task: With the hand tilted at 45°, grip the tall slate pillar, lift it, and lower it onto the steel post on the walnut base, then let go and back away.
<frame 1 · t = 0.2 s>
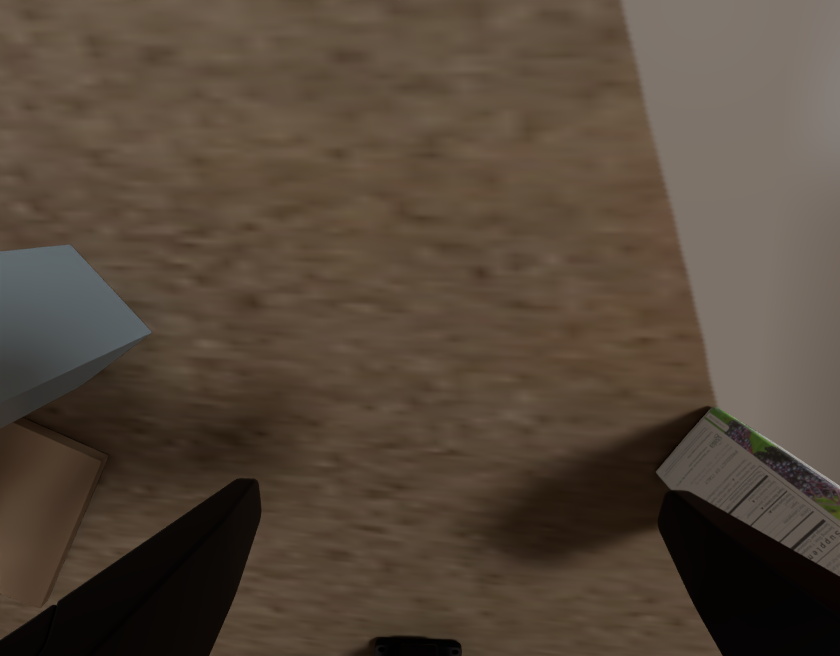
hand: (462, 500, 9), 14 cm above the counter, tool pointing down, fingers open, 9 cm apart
tall slate pillar: (75, 319, 22), on the counter
syrup box: (710, 456, 26), on the counter
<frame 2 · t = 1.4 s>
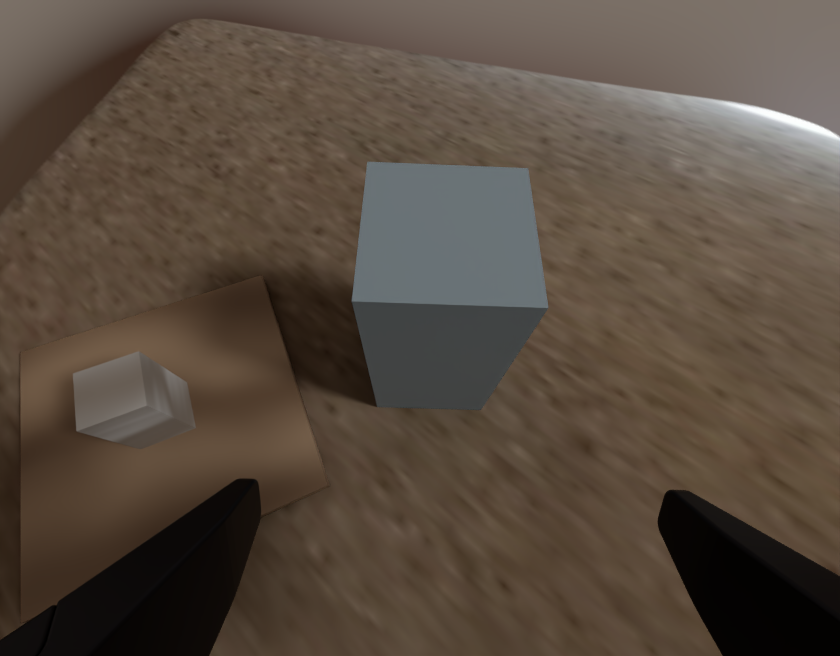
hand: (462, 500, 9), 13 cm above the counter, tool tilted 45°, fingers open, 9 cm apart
tall slate pillar: (429, 360, 24), on the counter
post base: (170, 417, 22), on the counter
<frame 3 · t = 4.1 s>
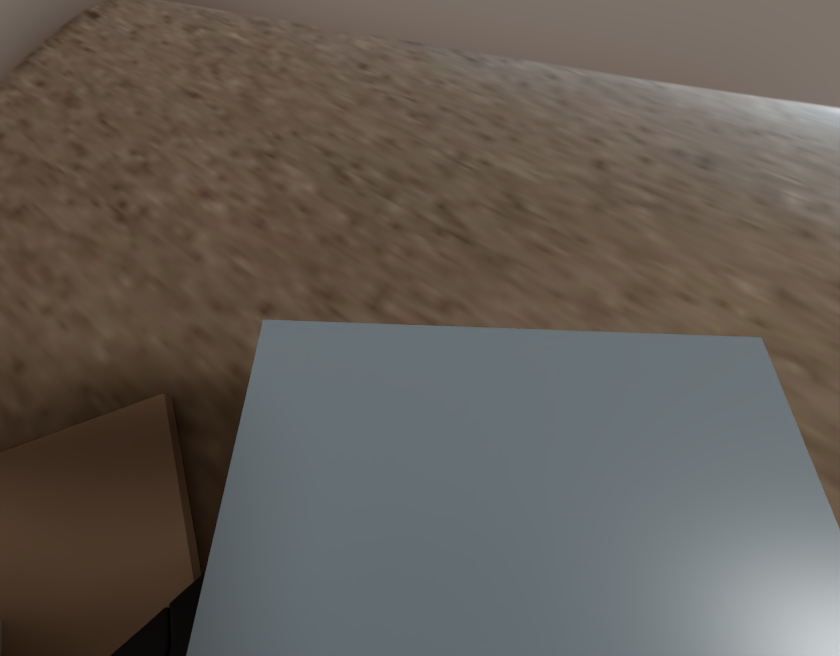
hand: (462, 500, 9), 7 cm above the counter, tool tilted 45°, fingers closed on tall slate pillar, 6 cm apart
tall slate pillar: (438, 553, 14), on the counter, touching gripper
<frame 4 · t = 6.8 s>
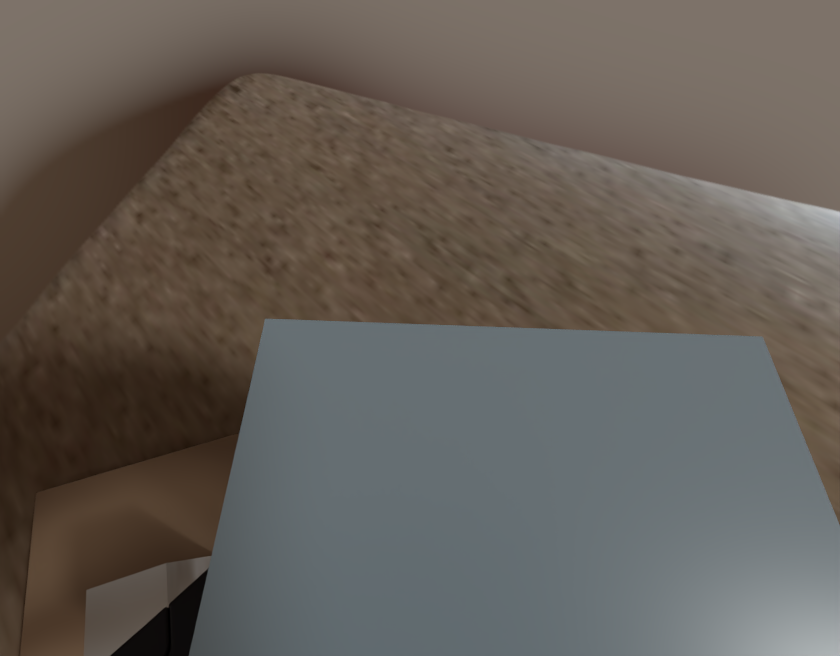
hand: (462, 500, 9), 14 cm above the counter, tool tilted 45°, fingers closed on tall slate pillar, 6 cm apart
tall slate pillar: (439, 552, 14), point 7 cm above the counter, touching gripper
post base: (194, 596, 19), on the counter
when the fingers open (8 cm above the counter, at t = 9.7 s): tall slate pillar stays where it is, resting on post base.
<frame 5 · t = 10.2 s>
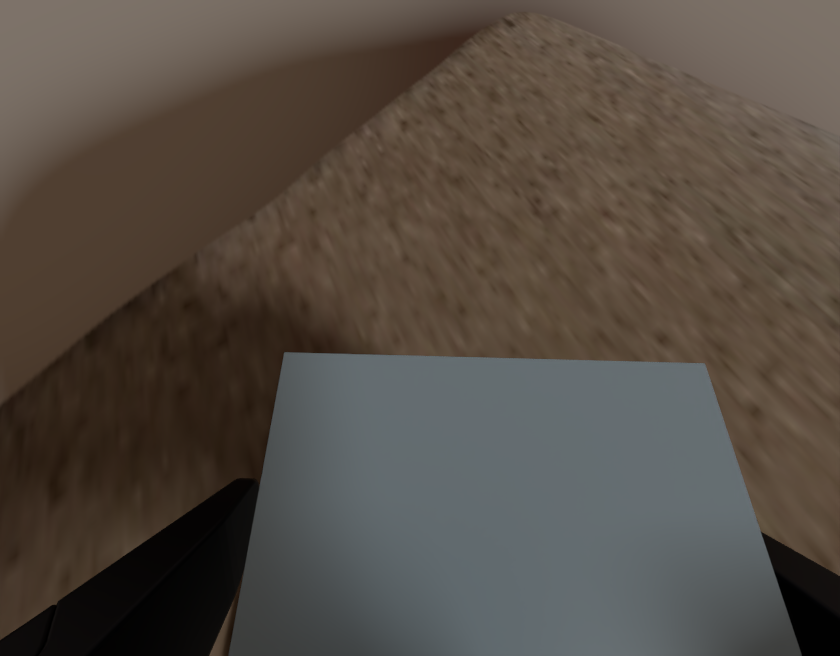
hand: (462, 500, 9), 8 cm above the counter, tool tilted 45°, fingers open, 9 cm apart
tall slate pillar: (437, 550, 15), point 1 cm above the counter, touching post base
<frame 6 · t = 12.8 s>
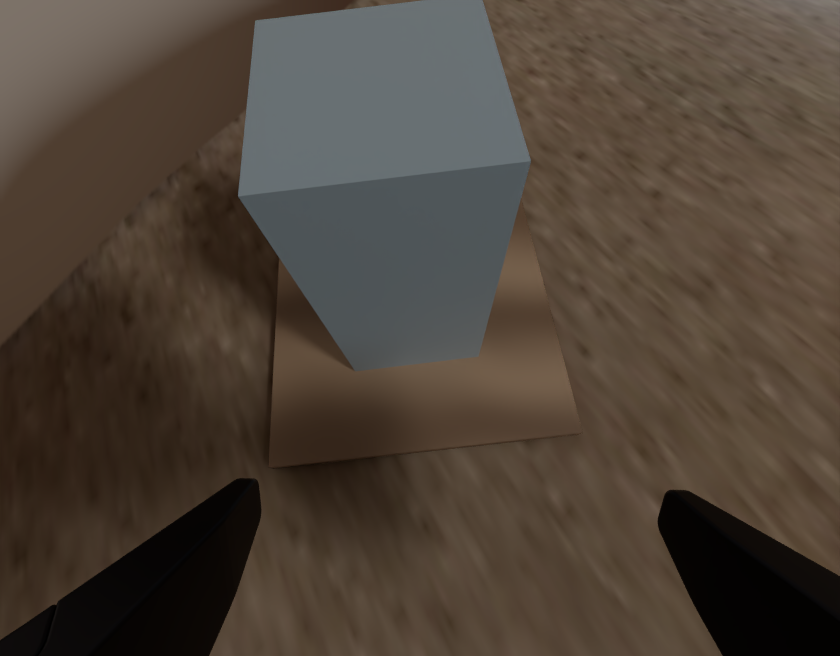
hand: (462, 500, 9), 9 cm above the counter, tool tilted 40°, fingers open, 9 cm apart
tall slate pillar: (410, 308, 20), point 1 cm above the counter, touching post base
post base: (411, 314, 21), on the counter
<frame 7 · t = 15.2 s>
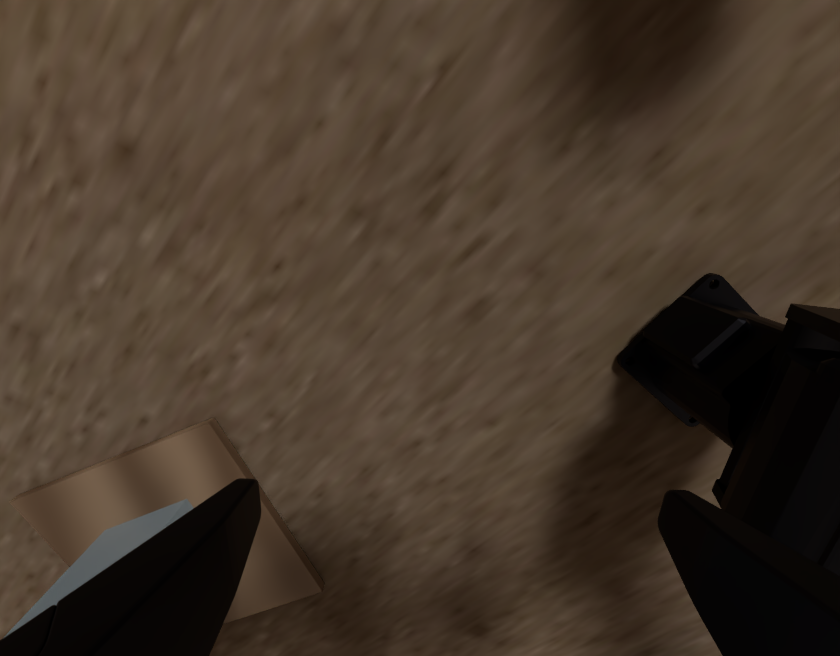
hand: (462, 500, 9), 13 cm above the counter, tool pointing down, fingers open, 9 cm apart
tall slate pillar: (173, 549, 25), point 1 cm above the counter, touching post base
post base: (179, 541, 26), on the counter
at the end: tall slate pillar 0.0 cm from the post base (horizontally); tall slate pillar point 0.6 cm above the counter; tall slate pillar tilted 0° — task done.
